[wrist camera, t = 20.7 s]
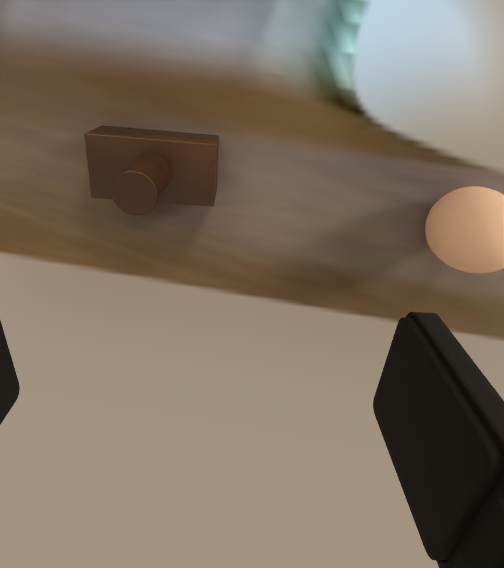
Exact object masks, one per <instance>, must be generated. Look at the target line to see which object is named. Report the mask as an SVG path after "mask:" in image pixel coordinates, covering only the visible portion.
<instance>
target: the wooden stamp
mask: <svg viewBox="0 0 504 568" xmlns="http://www.w3.org/2000/svg"><path fill="white" fill-rule="evenodd" d="M218 141H219V136H216V135H204V134H192V133H181V132H169V131H157V130H146V129H134V128H122V127H111V126H100V127H98V128H96V129H94V130H91V131H89V132H87V133H85V142H86V150H87V159H88V168H89V177H90V186H91V195H92V197H93V198H107V199H114V201H115V203H116V204H117V205H118V207H119V208H121V209H122V210H123V211H125V212H127V213H129V214H132V215H143V214H146V213H148V212H150V211H151V210H152V209H153V208H154V207H155V205H156V204H157V202H162V203H176V204H189V205H203V206H214V203H215V197H216V188H217V164H218Z"/></svg>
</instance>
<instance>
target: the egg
mask: <svg viewBox="0 0 504 568" xmlns="http://www.w3.org/2000/svg"><path fill="white" fill-rule="evenodd" d="M425 234H426V239H427V242H428V245H429V246H430V248H431V250H432V251H433V252H434V254H435V255H436V256H437V257H438V258H439V259H440V260H442V261H443V262H444V263H446V264H447V265H449V266H451V267H453V268H455V269H458V270H460V271H464V272H469V273H488V272H494V271H498V270H501V269H503V268H504V195H503V194H501V193H499V192H498V191H495V190H492V189H489V188H485V187H463V188H459V189H456V190H454V191H452V192H450V193H448V194H446V195H444V196H443V197H442V198H440V199H439V200H438V201H437V202H436V203H435V204H434V205H433V207H432V208H431V210H430V211H429V214H428V217H427V220H426V224H425Z"/></svg>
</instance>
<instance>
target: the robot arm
mask: <svg viewBox="0 0 504 568" xmlns="http://www.w3.org/2000/svg"><path fill="white" fill-rule="evenodd" d="M18 395H19V382H18V379H17V375H16V372H15V368H14V365H13V362H12V358H11V355H10V352H9V348H8V345H7V341H6V338H5V335H4V332H3V328H2V324H1V321H0V424H1V423H2V421H3V420H4V418H5V416H6V415H7V413H8V412H9V411H10V409H11V408H12V406H13V405H14V403H15V402H16V400H17V397H18ZM373 408H374V413H375V416H376V419H377V421H378V424H379V427H380V430H381V432H382V435H383V438H384V441H385V443H386V446H387V449H388V451H389V454H390V456H391V459H392V462H393V465H394V467H395V470H396V473H397V475H398V478H399V481H400V483H401V486H402V489H403V491H404V494H405V496H406V499H407V502H408V505H409V507H410V510H411V513H412V515H413V518H414V521H415V523H416V526H417V529H418V531H419V534H420V537H421V539H422V542H423V545H424V547H425V550H426V552H427V554H428V556H429V557H430V558H431V559H432V560H436V561H437V563H438V566H439V568H504V401H503V399H502V398H501V397H500V396H499V394H498V393H497V392H496V390H495V389H494V388H493V386H492V385H491V384H490V383H489V381H488V380H487V379H486V377H485V376H484V375H483V373H482V372H481V371H480V370H479V368H478V367H477V366H476V364H475V363H474V362H473V360H472V359H471V358H470V357H469V355H468V354H467V353H466V351H465V350H464V349H463V347H462V346H461V345H460V343H459V342H458V341H457V340H456V338H455V337H454V335H453V334H452V333H451V332H450V330H449V329H448V328H447V326H446V325H445V324H444V322H443V321H442V320H441V319H440V317H439V316H438V315H437V314H435V313H421V312H410V313H408V315H407V316H406V318H401V319H400V320H399V322H398V325H397V328H396V331H395V334H394V337H393V340H392V343H391V347H390V350H389V353H388V356H387V359H386V362H385V365H384V368H383V372H382V375H381V378H380V381H379V384H378V387H377V390H376V394H375V397H374V401H373Z"/></svg>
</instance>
